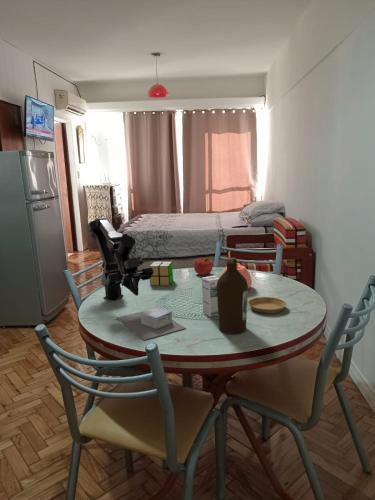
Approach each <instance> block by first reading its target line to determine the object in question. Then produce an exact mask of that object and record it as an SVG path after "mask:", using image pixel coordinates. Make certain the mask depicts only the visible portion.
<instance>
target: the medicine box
mask: <svg viewBox="0 0 375 500" xmlns="http://www.w3.org/2000/svg"><path fill="white" fill-rule="evenodd" d="M143 311H144V312H142V311H140V312H141V324H143V325H146V326H149V327H152V328H154V329H159V328H161V327H163V326H166V325H168V324H170V323H172V320H173V312H172V311H171V310H168V309H165V308H162V307H158V306H155V307H152V308H149V309H147V311H146V310H143Z"/></svg>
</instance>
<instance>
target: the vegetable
mask: <svg viewBox="0 0 375 500" xmlns="http://www.w3.org/2000/svg"><path fill="white" fill-rule="evenodd" d="M210 259H211V260H210ZM214 259H215V257H213V256H207V257H206V258H205V257H200V258H196V259H195V261H194V264H193V267H194V269H193V270H194V271H195V273H196V274H197V275H199V276H201V277H204V276H205V275H210V274H211V272H212V270H213V268H214V263H213V261H212V260H214Z"/></svg>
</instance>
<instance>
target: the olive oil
mask: <svg viewBox="0 0 375 500" xmlns="http://www.w3.org/2000/svg"><path fill="white" fill-rule="evenodd" d="M237 260H238V259H237V258H236V257H228V258H226V261H227V262H226V266H227V270H226V271H225V272H224V273H223V274H222V273H221V274H222V275H221V274H220V276H219V277H220V278H219V279H218V281H217V286H216V289H217V302H218V315H217V317H218V330H219V331H220V332H221V333H224V334H227V335H238V334H242V333H244V332H246V330H247V316H248V315H247V314H248V309H247V308H248V296H249V295H248V294H249V293H248V292H249V289H248V284H247V281H246V279H245V277H244V276H243V275H242V274H241V273H240V272H239V271H238V270H237V263H238V262H237Z"/></svg>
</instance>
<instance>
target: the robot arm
mask: <svg viewBox="0 0 375 500" xmlns="http://www.w3.org/2000/svg"><path fill="white" fill-rule="evenodd" d="M86 227H87V228H86V229H87V232H88V233H89V235H90V237H91V238H92V239H94V241H96V245H97V247H98V251H99V254H100V257H101V260H102V262H103V266H104V267H103V271H102V275H101V280H100V282H101V285H102V286H103V287H104V291H105V292H104V293H105V296H104V297H103V299H104V300H110V301H116V300H118V299H120V298H122V297H124V294H122V293H123V292H122V287H125V288H126V289H128V290H129V291H130V292H131V293H132V294H133V295H134V296H139V283H140V281H141V280H142V281H148V280H150V278H151V277H152V275H153V273H154V270H153V268H152V267H149V266H147V267H143V268H142V269H141V271H138V270H139V267H141V265H144V260H143V257H142V256H141V255H140V256H137V257H135V258H132V259H131V256H130V255H131V254H132V252H133V249H134V247H135V245H136V239H135V238H133V237H132V236H130V235H128V233H121V232H118V231H116V229H115V227H113V225H112V224H111V223H110V221H109V219H108V217H106V216H105V217H98V218H96V219H94V220H92V221H90V222H88V224H87V226H86ZM112 251H114V253H113V254H112ZM113 255H114V256H113Z"/></svg>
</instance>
